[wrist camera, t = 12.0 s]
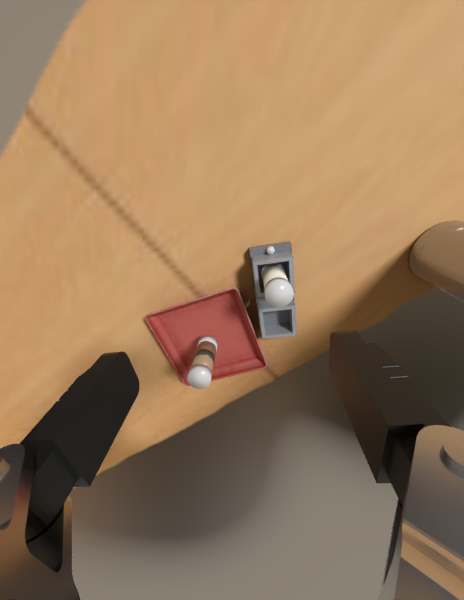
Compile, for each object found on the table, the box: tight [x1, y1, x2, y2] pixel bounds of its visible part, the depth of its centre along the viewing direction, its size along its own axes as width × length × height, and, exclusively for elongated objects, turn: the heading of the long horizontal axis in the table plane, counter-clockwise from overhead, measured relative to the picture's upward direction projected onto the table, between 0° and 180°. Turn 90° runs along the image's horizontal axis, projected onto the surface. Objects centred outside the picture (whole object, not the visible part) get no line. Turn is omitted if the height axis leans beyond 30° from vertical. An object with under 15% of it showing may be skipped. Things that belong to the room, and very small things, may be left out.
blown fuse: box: [187, 335, 218, 389], centre depth 39 cm, size 4×4×9 cm
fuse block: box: [249, 241, 297, 339], centre depth 38 cm, size 6×16×4 cm, turn 9°
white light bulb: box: [261, 262, 294, 307], centre depth 33 cm, size 4×4×9 cm
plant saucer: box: [145, 287, 267, 386], centre depth 44 cm, size 18×18×3 cm
